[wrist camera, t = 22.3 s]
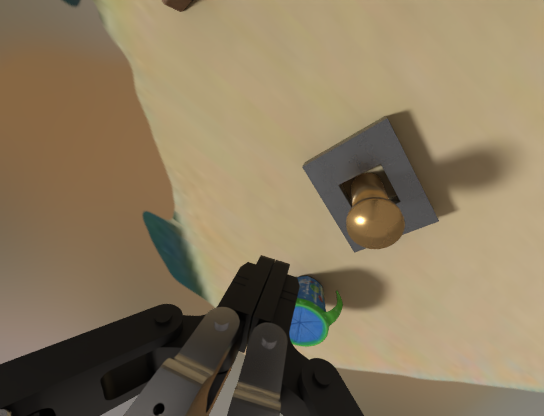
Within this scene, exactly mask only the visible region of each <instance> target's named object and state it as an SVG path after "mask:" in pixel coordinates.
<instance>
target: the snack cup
mask: <svg viewBox="0 0 544 416" xmlns="http://www.w3.org/2000/svg"><path fill="white" fill-rule="evenodd" d="M298 282H299V285H300V288H299V292H298V296H297V301H296V305H295V309H294V314H293V318H292V322H291V327H290V332H289V335H290V340H291V342H292V344H294V345H298V346H314V345H317V344H319V343H321V342H322V341H323V340H324V339H325V338H326V337H327V334H328V329H329V326H330V325H331V324H332V323H333V322H335V321H336V319H337V318H338V317H339V315H340V313H341V310H342V306H343V303H342V299H341V297H340V295H339V293H338V291H337V290H336V294H337V305H336V306H335V307H334V308H333V309H332V310H330V311H328V312H326V309H325V298H324V291H323V287H322V285H320V284H319V283H318V282H317V281H316V280H315V279H312V278H310V277H309V276H301V277H298Z"/></svg>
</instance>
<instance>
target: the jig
mask: <svg viewBox="0 0 544 416" xmlns="http://www.w3.org/2000/svg"><path fill="white" fill-rule="evenodd" d="M379 164H381V166H382V167H383V169H384V171H385V173H386V175H387V177H388V179H389V181H390V182H391V184H392V186H393V188H394V190H395V192H396V194H397V195H396V196H394V197H392V198H390V199H389V200H390V201H392V202H394V203H395V204H396V205H397V206H398V207H399V209H400V210H401V213H402V215H403V217H404V221H405V228H404V232H403V234H406V233H408V232H411V231H414V230H417V229H419V228H422V227H425V226H427V225H430V224H433V223H436V222H438V221H439V220H438V218H437V216H436V214H435V212H434V210H433V208H432V206H431V204H430V202H429V200H428V198H427V196H426V194H425V192H424V190H423V188H422V186H421V184H420V182H419V180H418V178H417V176H416V174H415V172H414V170H413V168H412V166H411V164H410V162H409V160H408V158H407V156H406V154H405V152H404V150H403V148H402V146H401V144H400V142H399V140H398V138H397V136H396V134H395V132H394V130H393V128H392V126H391V124H390V122H389V120H388V118H387V117H385V116H384V117H382V118H381V119H379V120H377V121H375V122H374V123H372V124H370V125H369V126H367V127H365V128H363V129H362V130H360V131H358V132H357V133H355V134H353V135H351V136H350V137H348V138H346V139H344V140H343V141H341V142H339V143H338V144H336V145H334V146H332V147H331V148H329V149H327V150H325V151H324V152H322V153H320V154H319V155H317V156H315V157H313V158H312V159H310V160H308V161H306V162H305V163H304V165H303V169H304V170H305V172H306V174H307V175H308V177H309V179H310V180H311V182H312V184H313V185H314V187H315V189H316V190H317V192H318V193H319V195H320V197H321V198H322V200H323V202H324V203H325V205H326V207H327V208H328V210H329V212H330V213H331V215H332V216H333V218H334V220H335V221H336V223H337V225H338V226H339V228H340V230H341V231H342V233H343V235H344V236H345V238H346V239H347V241H348V243H349V244H350V246H351V248H352V249H353V251H354V252H357V251H360V250H363V249H365V247H362V246H360V245H358V244H357V243H355V242H354V241H353V240H352V239H351V238H350V236H349V234H348V232H347V227H346V219H347V215H348V212H349V210H350V209H351V207H352V201H351V200H350V198H349V196H348V195H347V193H346V191H345V189H344V188H343V186H342V184H341V183H343V182H345V181H347V180H349V179H351V178H353V177H355V176H357V175H359V174H361V173H363V172H365V171H367V170H369V169H371V168H373V167H375V166H377V165H379ZM403 234H402V235H403Z"/></svg>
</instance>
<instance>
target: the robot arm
mask: <svg viewBox="0 0 544 416" xmlns="http://www.w3.org/2000/svg"><path fill="white" fill-rule="evenodd" d="M289 266H290V264H288V263H285V262H282V261H278V260H276V261H275V259H272V258H268V257H265V256H262V255H261V256H260V258H259V260H258V262H257V264H253V263H249V262H247V263H246V264H244V265H243V266H241V267H240V269H239V270H238V272H237V274H236V276H235V277H234V279H233V281H232V282H231V284H230V286H229V288H228V289H227V291H226V293H225V295H224V296H223V298H222V300H221V301H220V303H219V305H218V306H217V308H214V309H212V310H210V311H209V312H208V313H207V314H206V315H202V316H185V315H183V314H182V311H181V310H180V309H179V308H178V307H177V306H175V305H172V304H162V305H158V306H156V307H153V308H150V309H147V310H145V311H142V312H140V313H137V314H134V315H132V316H129V317H126V318H123V319H121V320H118V321H115V322H113V323H110V324H107V325H105V326H102V327H99V328H97V329H94V330H91V331H88V332H86V333H83V334H80V335H78V336H75V337H73V338H70V339H67V340H64V341H62V342H59V343H56V344H54V345H51V346H48V347H45V348H43V349H40V350H38V351H35V352H32V353H29V354H27V355H25V356H21V357H19V358H16V359H14V360H11V361H8V362H5V363H3V364H0V416H100V415H102V414H104V413H106V412H107V411H109V410H111V409H113V408H115V407H117V406H118V405H120V404H122V403H124V402H126V401H128V400H129V399H131V398H133V397H135V396H136V395H138V397H137V398H136V399H135V401H134V402H133V404H132V405H131V406H130V408H129V409H128V410H127V411H126V413H125V414H124V415H123V416H209V414H210V412H211V410H212V408H213V406H214V404H215V402H216V400H217V398H218V396H219V394H220V392H221V390H222V388H223V385H224V383H225V381H226V379H227V377H228V375H229V373H230V371H231V369H232V365H233V363H234V361H235V359H236V356H237V354H238V351H240V352H243V353H244V352H245V349H246V347H247V349H246V355H245V359H244V363H243V366H242V369H241V373H240V376H239V380H238V383H237V386H236V388H235V391H234V394H233V397H232V400H231V404H230V407H229V411H228V414H227V416H279V415H280V413H281V414H283V416H364V415H363V413H362V412H361V410H360V408H359V407H358V405H357V403H356V401H355V400H354V398H353V396H352V395H351V393H350V391H349V390H348V388H347V386H346V385H345V383H344V381H343V380H342V378H341V376H340V375H339V373H338V371H337V370H336V368H335V367H334V366H333V365H332V364H331V363H329V362H328V361H326V360H324V359H320V358H313V359H310V360H309V359H307V358H306V357H305V356H303V355H302V354H301V353H299V352H298V351H297V350H296V349H295V347H294V346H293V344H292V342H291V340H290V335H289V332H290V327H291V322H292V318H293V314H294V309H295V305H296V301H297V296H298V292H299V288H300V285H299V282H298V278H297V277H294V276H291V275H288V270H289ZM247 344H248V345H247Z"/></svg>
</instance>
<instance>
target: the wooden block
mask: <svg viewBox="0 0 544 416" xmlns="http://www.w3.org/2000/svg"><path fill="white" fill-rule="evenodd" d="M191 1H192V0H162V2H163V3H164V4H165V5H167V6H169V7H171V8H173V9H175V10H177V11H180V12H182V11H183V10H184V9H185V8H186V7H187V6H188V5H189V4H190V3H191Z"/></svg>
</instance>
